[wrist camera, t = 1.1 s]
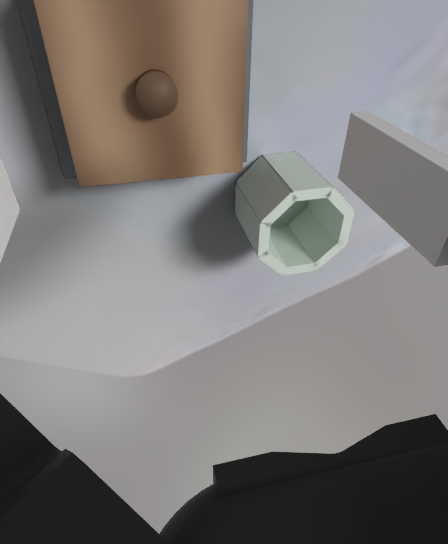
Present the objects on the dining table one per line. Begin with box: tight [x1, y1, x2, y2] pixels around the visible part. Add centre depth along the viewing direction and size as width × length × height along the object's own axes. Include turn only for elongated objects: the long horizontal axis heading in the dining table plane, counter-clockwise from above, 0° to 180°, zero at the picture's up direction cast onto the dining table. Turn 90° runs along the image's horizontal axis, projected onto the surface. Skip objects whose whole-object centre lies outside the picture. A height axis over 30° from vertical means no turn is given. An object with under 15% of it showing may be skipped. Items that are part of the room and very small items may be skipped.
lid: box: [34, 0, 248, 187], centre depth 24 cm, size 11×11×5 cm
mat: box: [16, 0, 253, 178], centre depth 26 cm, size 14×13×1 cm
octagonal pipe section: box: [235, 152, 354, 275], centre depth 32 cm, size 7×7×7 cm
